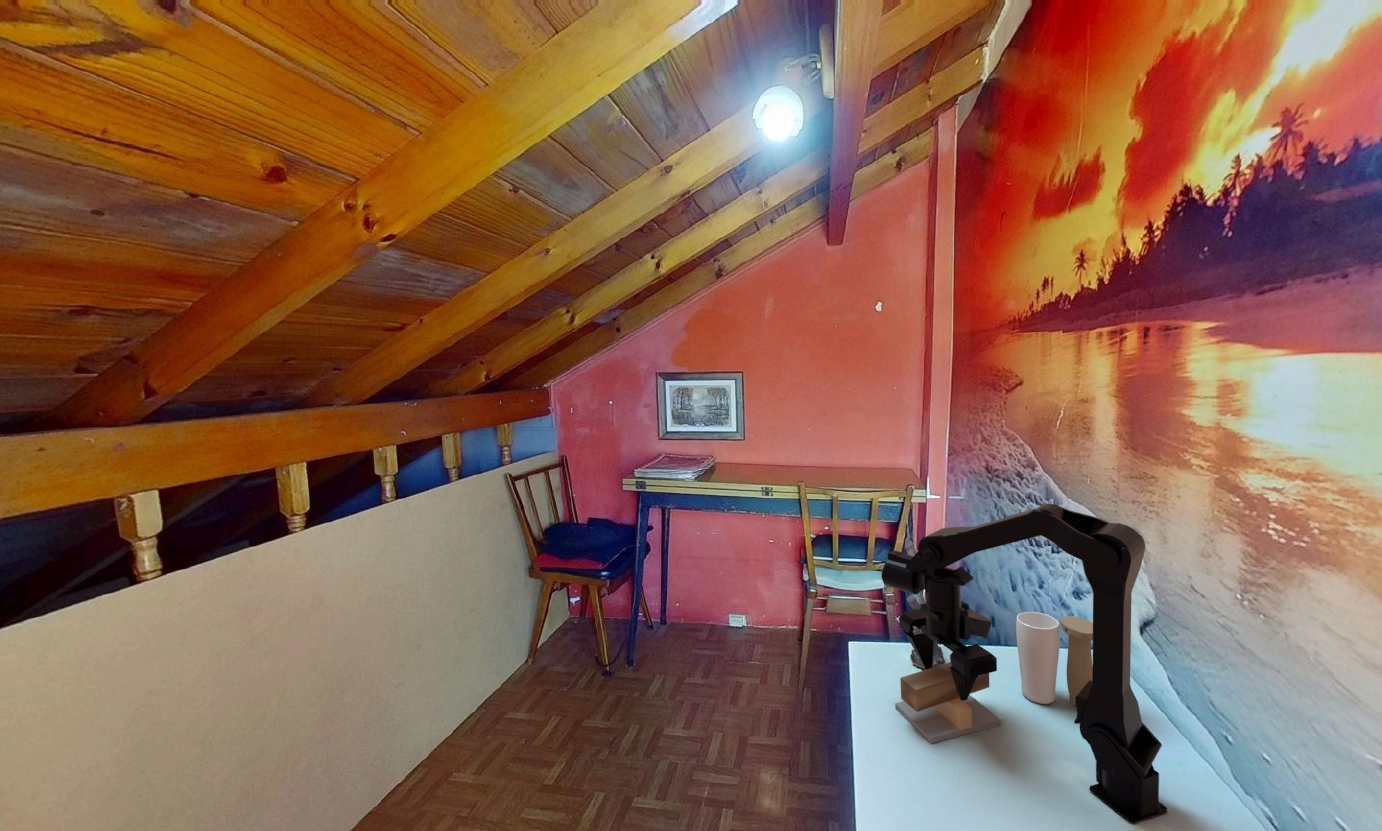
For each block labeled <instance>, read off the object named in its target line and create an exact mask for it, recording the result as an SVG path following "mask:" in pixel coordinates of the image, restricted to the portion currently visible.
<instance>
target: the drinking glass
mask: <svg viewBox="0 0 1382 831" xmlns="http://www.w3.org/2000/svg"><path fill="white" fill-rule="evenodd" d="M1015 627H1016V629H1015V630H1016V631H1015V632H1016V644H1017V655H1018V662H1019V670H1020V680H1021V681H1020V682H1021V693H1022V695H1023V696H1024V697H1025V698H1027V700H1029V701H1030V702H1033V703H1036V704H1042V705H1047V704H1052V703H1053V702H1054V701H1055V700H1056V698H1057V697H1056V690H1057V689H1056V687H1057V686H1056V685H1057V676H1058V667H1059V658H1060V657H1059V655H1060V649H1061V648H1060V645H1061V635H1060V621H1058V620H1057V618H1055V617H1053V616H1051V615H1049V614H1046V613H1042V612H1036V611H1024V612H1021V613H1018V614H1017V616H1016V626H1015Z"/></svg>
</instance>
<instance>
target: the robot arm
mask: <svg viewBox="0 0 1382 831" xmlns="http://www.w3.org/2000/svg"><path fill="white" fill-rule="evenodd" d="M1040 536H1041V537H1043V538H1045V539H1048V540H1049V541H1051V542H1052V543H1053V544H1054V545H1055V546H1057V547H1058V548H1060V549H1061V550H1062V551H1063V552H1065V553H1066V554H1068V555H1070V556H1072V557H1074V558H1076V559H1078V560H1080V561H1081V562H1082V566H1083V572H1084V576H1085V578H1086V580H1087V581H1088V584H1089V586H1090V588H1091V590H1092V623H1093V640H1092V667H1093V671H1092V681H1091V680H1089V681H1088V682H1087V683H1086V685H1085V686H1084V687H1083V688H1082V689H1081V691H1080V692H1079V693H1078V694H1077V695H1076V697H1075V703H1076V705H1075V708H1076V717H1075V719H1074V721H1073V722H1074V724H1075V725H1079V733H1080V736H1081V737H1082V738H1083V740H1085V741H1086V742H1087V744H1088V745H1089V746H1090V748H1091V752H1092V755H1093V757H1094V759H1095V780H1096V782H1097V783H1095V784H1091V785H1090V786H1089V792H1091V793H1092V794H1093V795H1094V796H1096V797H1097V798H1099V800H1101V801H1102V802H1103V803H1104V804H1106V805H1107V806H1109V807H1110V809H1112V810H1113V811H1114V812H1116V813H1117V814H1118V815H1120V816H1121V817H1122V818H1123V819H1125V820H1126V821H1127V822H1128V823H1130V824H1138V823H1141V822H1145V821H1147V820H1150V819H1152V818H1155V817H1158V816H1161V815H1164V814H1166V813H1168V807H1167V806H1166V805H1165V804H1163V803H1161V802H1160V801H1159V798H1160V796H1159V795H1160V772H1158V771H1157V770H1155V768H1154V765H1153V763H1154V761H1155V759H1156V757H1157V755H1158V754H1159V752H1160V750H1161V748H1162V746H1163V744H1162V743H1161V741H1160V740H1159V739H1158V738H1157V737H1156V736H1155V735H1154V734H1153V732H1151V730H1150V729H1149V728H1148V727H1147V725H1146V724H1144V723H1143V721H1142V715H1141V712H1140V706H1139V701H1138V698H1137V697H1136V695H1135V693H1134V691H1133V689H1132V686H1131V651H1132V650H1131V647H1132V646H1131V642H1132V641H1131V640H1132V592H1133V589H1134V587H1135V586H1134V585H1135V583H1136V580H1137V579H1138V575H1139V573H1140V570H1141V567H1142V563H1143V558H1144V555H1145V551H1146V542H1145V540H1144V536H1142V534H1140V533H1139V532H1138V531H1137V530H1135V529H1134V528H1132V527H1131V526H1129V525H1128V524H1123V523H1121V522H1119V523H1118V522H1112V523H1111V522H1108V521H1106V520H1103V519H1101V518H1099V517H1097V516H1093V515H1089V514H1084V513H1082V512H1076V511H1073V510H1069V509H1067V508H1065V507H1062V506H1060V505H1058V504H1055V503H1049V502H1048V503H1044V504H1042V505H1040V506H1038V507H1036V508H1033V509H1029V510H1026V511H1023V512H1020V513H1015V514H1012V515H1010V516H1006V517H1005V516H1004V517H1002V518H998V519H996V520H992V521H988V522H985V523H982V524H979V525H975V526H952V527H943V528H941V529H938V530H936V531H933V532H932V533H929V534H928V535H926V536H925V537H924V536H923V537H922V538H920V540H919V541H918V545H917V550H918V552H917V553H916V554H915V555H914V556H910V555H907V553H906V554H905V553H903V552H901V551H899V550H898V551H897V550H892V551H890V552H888V553H887V558H886V561H885V563H884V565H883V569H882V571H881V580H882V583H883V584H884V585H885V586H886V587H888V588H893V589H895V590H900V591H903V592H906V593H908V594H910V593H911V594H915V595H916V594H918V593H920V592H921V591H922V592H923V591H924V599H925V603H924V604H920V609H917V610H913V609H912V610H908V611H904V612H902V613H901V614H900V616H899V617H898V624H899V626H898V627H899V628H900V629H902V631H903V634H904V635H905V636H906V637H907V640H908V641H909V643H910V645H911V646H912V648H913V650H915V652H916V654H917V656H918V657H919V659H920V661H921V663H922V665H923V667H924V668H923V669H924V670H927V669H930V668H932V666H933V646H934V641H935V642H936V643H938V645H942V646H944V647H946V649H948V650H950V651H951V653H950V655H949V659H950V660H949V662H951V664H952V666H951V667H950V670H951V673H952V676H953V679H954V683H955V686H956V689H957V692H958V695H959V697H960V700H962V701H965V700H967V699H968V696H969V695H971V694H970V692H971V689H972V687H973V685H974V683H975V681H976V679H977V677H978V676H979V675H982V674H987V673H989V674H990V673H994V672H997V670H998V665H997V664H998V659H997V657H996V656H995V655H994V654H993V653H991V652H990V651H989V650H987V649H985V648H984V647H982V646H981V645H979V644H977V643H975V644H970V645H967V644H965V643H963V642H961V641H962V640H964V641H967V640H971V639H972V636H976V637H982V638H983V639H989V634H990V632H991V627H992V624H993V621H992V620H991V619H990V618H988V617H986V616H984V615H982V614H981V613H979V612H977V611H974V610H972V609H971V608H970V606H969V604H968V603H967V602H965V601H964V600H962V599H961V598H962V597H961V587H964V586H966V585H967V584H969V583H970V582H972V581H973V580H974V577H973V576H972V575H971V574H970V572H968V571H967V570H966V569H965V568H964V567H963V566H959V567H958V568H956V569H955V568H952V567H949V566H951V565H952V564H955V563H956V562H959V561H961V560H962V559H964V558H967V557H968V556H970V555H972V554H975V553H978V552H982V551H986V550H989V549H993V548H998V547H1001V546H1005V545H1009V544H1013V543H1016V542H1021V541H1025V540H1029V539H1033V538H1036V537H1040Z"/></svg>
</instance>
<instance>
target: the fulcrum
mask: <svg viewBox="0 0 1382 831" xmlns="http://www.w3.org/2000/svg"><path fill="white" fill-rule="evenodd" d="M894 709H896V711H898V712H899V714H900V715H901V716H903V717H904V718H905V720H907V722H908V723H910V724H911V726H912V727H914V729H915V730H916V731H918V732H919V733H920V734H921V736H922V737H924V739H926V741H927V742H928V743H929V744H930V745H931V744H934V743H937V742H938V743H939V742H941V741H946V740H950V739H953V738H957V737H960V736H965V735H969V734H971V733H974V732H979V731H982V730H987V729H990V728H993V727H997V726H1000V725H1001V724H1002V723H1001V720H1002V719H1001V718H999V717H998V716H997V715H996V714H994V713H993V712H992V711H991V710H990V709H988V708H987V707H986V706H984V705H983V704H982V703H981V702H980V701H978V700H977V699H976V698H975V697H974V696H972V695H971V694H969V696H968V699H967V700H965V701H962V700H960V697H959V698H956V699H954V700H951V701H948V702H945V703H942V704H939V705H936V706H933V707H930V708H927V709H924V710H921V711H918V712H917V711H915V710H914V709H913V708H912V707H910V706H909V705H908V704H907V703H906V702H904V701H903V700H902V701H899V702H895V708H894Z"/></svg>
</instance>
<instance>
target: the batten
mask: <svg viewBox="0 0 1382 831" xmlns="http://www.w3.org/2000/svg"><path fill="white" fill-rule="evenodd" d="M951 666H952V664H951V662H950V661H949V662H946V664H943V665H939V666H936V667H933V668H930V669H927V670H925V669H924V670H921V671H918V672H915V673H911V674H908V675H905V676H902V677H900V682H899V683H900V699H901V700H902V701H904V702H906V703H907V704H908V705H909V706H910V707H912V708H913V709H914V710H915V711H917V712H918V711H921V710H924V709H927V708H930V707H933V706H936V705H939V704H942V703H945V702H948V701H951V700H954V699H956V698H959V695H958V692H957V689H956V686H955V683H954V679H953V676H952V673H951V670H950V667H951ZM988 688H990V673H987V674H982V675H979V676H978V677H977V679H976V681H975V683H974V685H973V687H972V689H971V692H970V694H969V695H971V694H973V693H977V692H979V691H983V690H985V689H988Z"/></svg>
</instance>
